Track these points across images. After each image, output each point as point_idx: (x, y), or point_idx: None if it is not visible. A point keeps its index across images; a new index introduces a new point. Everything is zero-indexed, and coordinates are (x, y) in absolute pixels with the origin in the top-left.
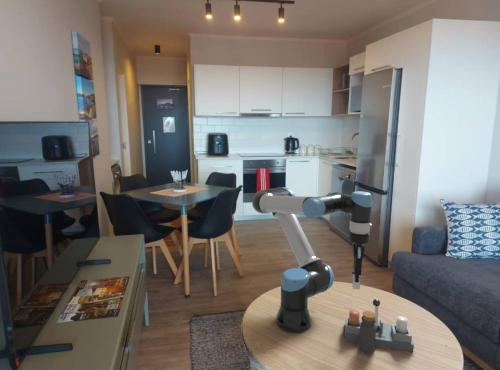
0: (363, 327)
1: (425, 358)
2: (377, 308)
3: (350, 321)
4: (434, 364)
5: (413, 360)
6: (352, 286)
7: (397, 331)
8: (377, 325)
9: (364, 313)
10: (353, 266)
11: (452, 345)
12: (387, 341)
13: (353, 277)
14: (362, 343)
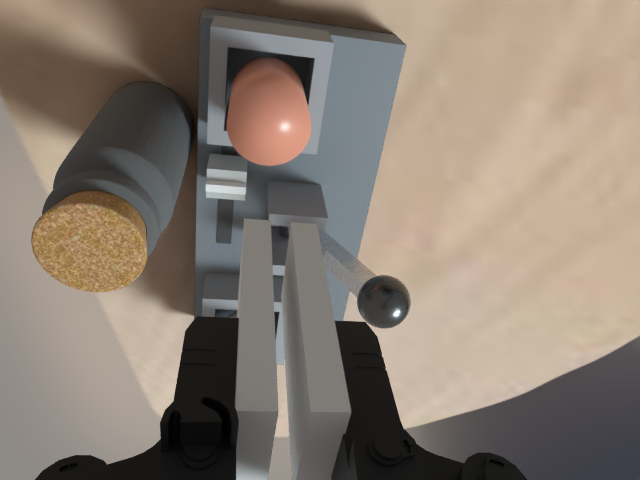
0: (63, 162)
1: (165, 345)
2: (350, 286)
3: (242, 73)
4: (136, 363)
5: (135, 306)
6: (303, 224)
7: (230, 315)
8: (289, 231)
9: (87, 218)
10: (481, 470)
11: (275, 430)
12: (196, 245)
13: (239, 342)
14: (98, 114)
